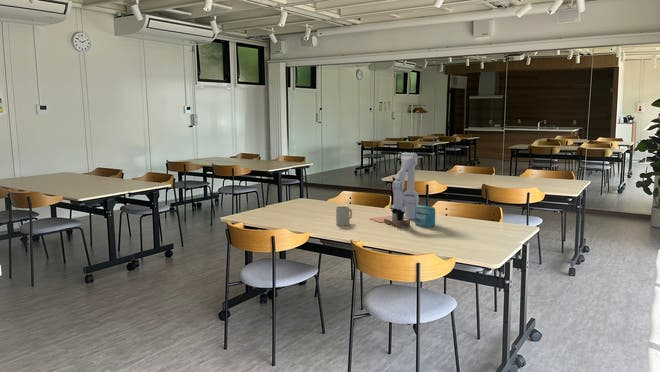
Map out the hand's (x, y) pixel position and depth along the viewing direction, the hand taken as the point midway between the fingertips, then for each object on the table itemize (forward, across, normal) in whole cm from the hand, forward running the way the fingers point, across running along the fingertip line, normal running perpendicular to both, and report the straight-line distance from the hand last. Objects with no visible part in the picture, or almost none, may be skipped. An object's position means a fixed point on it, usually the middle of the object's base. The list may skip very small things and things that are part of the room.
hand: (398, 220), depth 327 cm
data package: (+3, +9, +14) cm, 17 cm away
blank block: (+2, 0, 0) cm, 2 cm away
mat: (+3, -17, 0) cm, 17 cm away
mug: (+3, -17, -29) cm, 34 cm away
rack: (+3, -2, 0) cm, 3 cm away
